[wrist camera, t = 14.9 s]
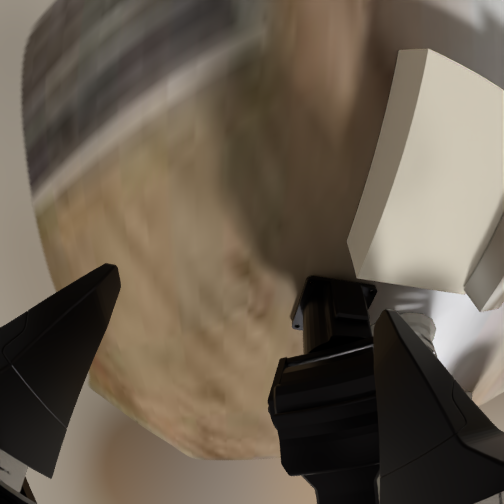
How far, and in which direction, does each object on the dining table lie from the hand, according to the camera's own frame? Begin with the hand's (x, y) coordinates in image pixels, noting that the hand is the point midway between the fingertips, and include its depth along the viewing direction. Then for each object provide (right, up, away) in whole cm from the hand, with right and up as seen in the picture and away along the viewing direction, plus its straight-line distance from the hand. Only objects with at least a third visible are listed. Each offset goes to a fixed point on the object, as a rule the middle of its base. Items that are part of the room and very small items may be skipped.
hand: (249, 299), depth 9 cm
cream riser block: (+13, +8, +9) cm, 18 cm away
